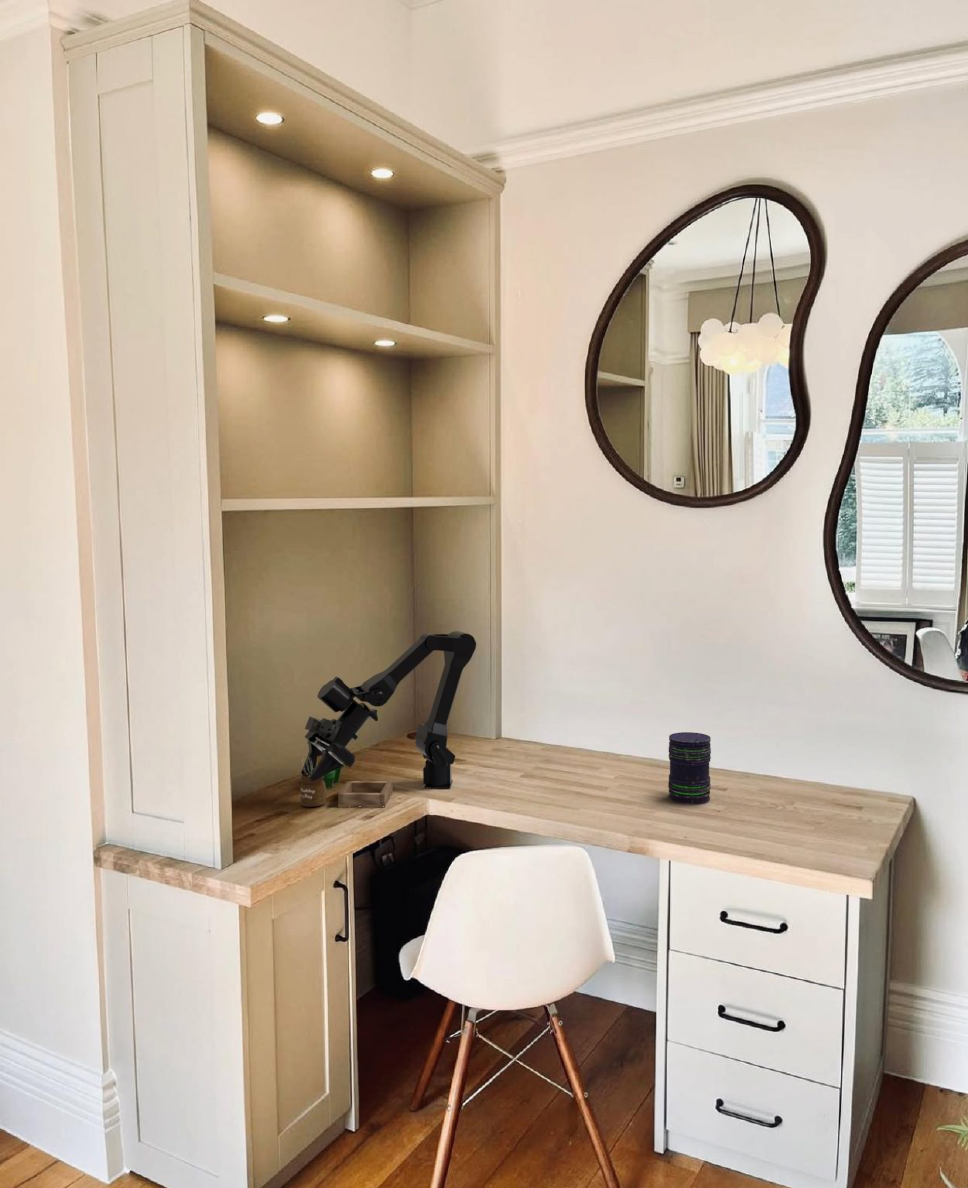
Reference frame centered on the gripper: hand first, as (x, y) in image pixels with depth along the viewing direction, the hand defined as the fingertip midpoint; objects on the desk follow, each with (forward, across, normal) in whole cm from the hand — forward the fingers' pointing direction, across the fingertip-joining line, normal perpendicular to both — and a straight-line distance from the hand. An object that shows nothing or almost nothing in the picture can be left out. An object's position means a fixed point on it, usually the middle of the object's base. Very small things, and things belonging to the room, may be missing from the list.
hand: (306, 776), depth 236 cm
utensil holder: (+4, 0, +6) cm, 7 cm away
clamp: (-2, -14, +12) cm, 19 cm away
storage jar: (-50, +44, +61) cm, 91 cm away
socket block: (-4, +4, +15) cm, 16 cm away
